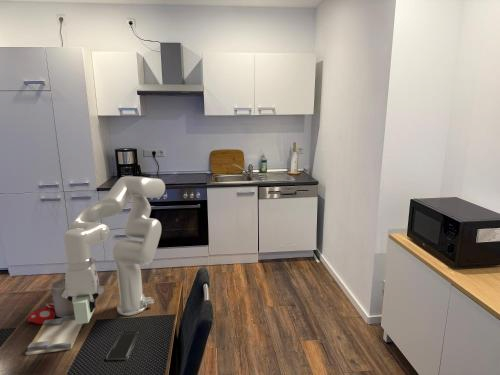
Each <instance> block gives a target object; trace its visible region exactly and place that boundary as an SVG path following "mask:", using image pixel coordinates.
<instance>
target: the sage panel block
mask: <svg viewBox="0 0 500 375" xmlns="http://www.w3.org/2000/svg"><path fill="white" fill-rule="evenodd" d="M89 302H90V298H89V295H81V296H77V297H76V299H75V301H74V303H73V306H74V315H75V321H76V324H83V325H84V324H88V323H90V320H91V318H92V316H93V314H94V311H95V309H94V310H93V312H90V304H89Z"/></svg>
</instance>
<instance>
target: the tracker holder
mask: <svg viewBox="0 0 500 375" xmlns="http://www.w3.org/2000/svg"><path fill="white" fill-rule="evenodd" d="M55 316H56V314H55V308H54V303H45V307H44V308H41V309H38V310H36V311H33V312H31V313H30V314H29V315H28V319H27V323H34V324H38V325H43V323H44V321H45V320H50V319H56V318H55Z"/></svg>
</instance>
